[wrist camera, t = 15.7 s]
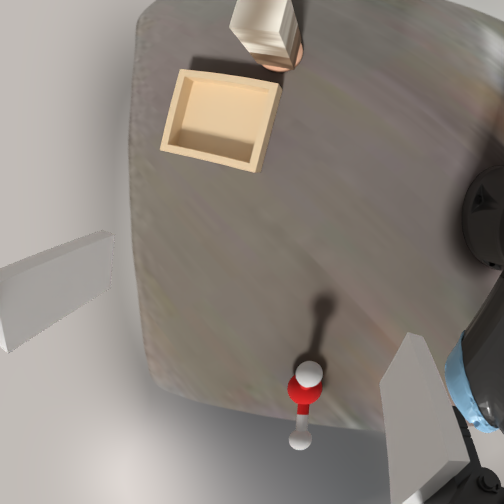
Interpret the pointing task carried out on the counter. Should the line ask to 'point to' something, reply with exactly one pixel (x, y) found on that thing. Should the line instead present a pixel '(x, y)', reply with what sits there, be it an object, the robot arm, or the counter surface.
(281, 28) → the two-tone block
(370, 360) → the counter surface
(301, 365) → the molecular model
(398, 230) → the counter surface
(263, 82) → the beige open tray
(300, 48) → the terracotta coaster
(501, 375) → the robot arm
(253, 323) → the counter surface
